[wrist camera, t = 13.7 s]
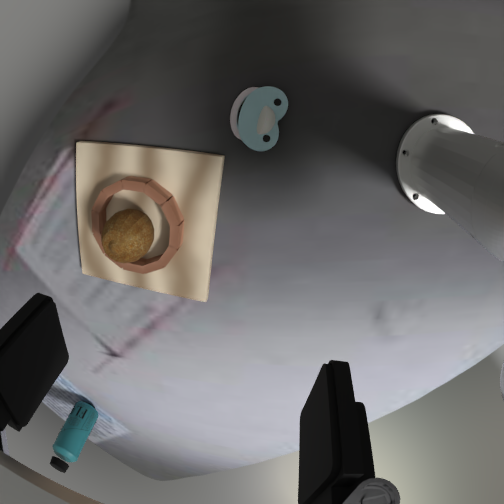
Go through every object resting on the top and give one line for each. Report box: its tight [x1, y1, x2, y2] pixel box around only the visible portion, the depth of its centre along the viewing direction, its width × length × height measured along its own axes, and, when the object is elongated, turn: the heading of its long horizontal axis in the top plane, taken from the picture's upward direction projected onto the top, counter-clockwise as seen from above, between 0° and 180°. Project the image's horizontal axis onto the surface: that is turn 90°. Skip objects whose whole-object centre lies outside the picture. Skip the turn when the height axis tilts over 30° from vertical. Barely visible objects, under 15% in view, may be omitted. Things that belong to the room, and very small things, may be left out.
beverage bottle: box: [50, 401, 98, 473], centre depth 55 cm, size 6×7×20 cm
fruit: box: [101, 209, 154, 263], centre depth 37 cm, size 6×6×8 cm
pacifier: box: [230, 86, 288, 151], centre depth 32 cm, size 7×6×6 cm
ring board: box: [76, 141, 225, 302], centre depth 40 cm, size 20×20×3 cm
